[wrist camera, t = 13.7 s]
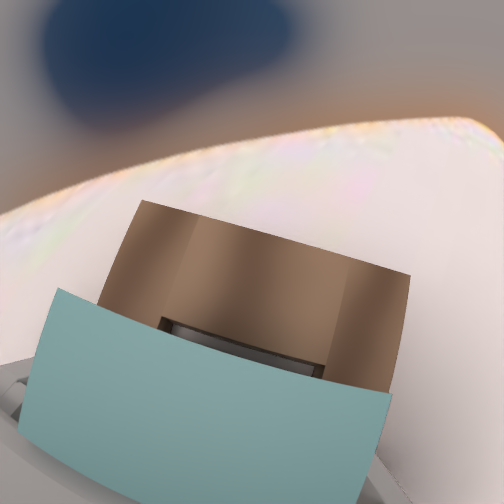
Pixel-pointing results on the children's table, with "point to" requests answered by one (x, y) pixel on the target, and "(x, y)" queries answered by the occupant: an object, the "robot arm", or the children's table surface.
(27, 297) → the children's table surface
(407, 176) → the children's table surface
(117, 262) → the slot board
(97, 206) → the children's table surface
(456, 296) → the children's table surface
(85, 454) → the teal rectangular block
